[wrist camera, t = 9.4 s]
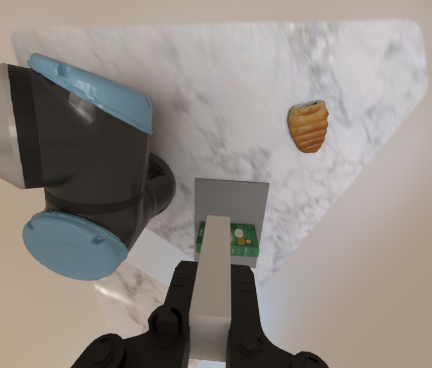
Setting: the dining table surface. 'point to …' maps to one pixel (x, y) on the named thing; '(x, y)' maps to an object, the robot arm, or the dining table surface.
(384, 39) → the dining table surface
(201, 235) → the coffee box
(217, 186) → the slate mat
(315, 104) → the pastry
